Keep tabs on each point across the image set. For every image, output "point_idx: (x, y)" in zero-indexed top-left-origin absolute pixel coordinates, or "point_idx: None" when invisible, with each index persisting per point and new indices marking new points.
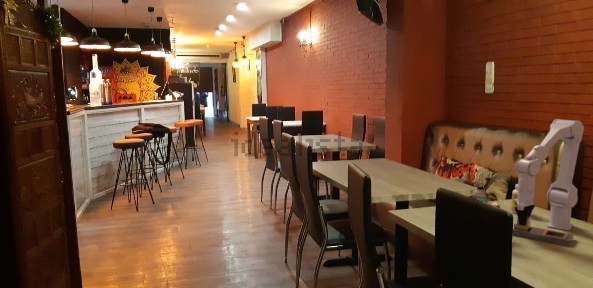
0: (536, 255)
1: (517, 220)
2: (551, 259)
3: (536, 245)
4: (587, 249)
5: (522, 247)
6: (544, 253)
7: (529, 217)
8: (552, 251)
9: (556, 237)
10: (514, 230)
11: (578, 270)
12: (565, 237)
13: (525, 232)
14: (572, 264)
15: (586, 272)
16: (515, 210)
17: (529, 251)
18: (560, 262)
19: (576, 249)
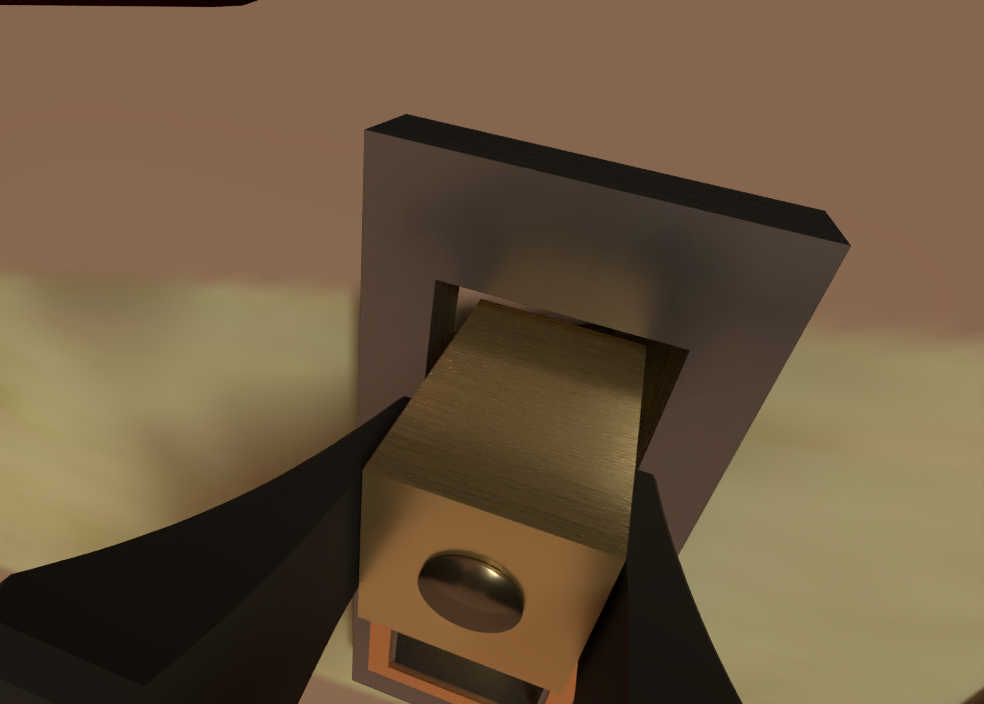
0: (4, 398)
1: (403, 415)
2: (26, 470)
3: (220, 436)
4: (382, 697)
5: (71, 317)
6: (91, 455)
7: (447, 649)
8: (177, 511)
9: (370, 633)
10: (364, 284)
11: (6, 548)
12: (415, 688)
13: (358, 414)
14: (58, 549)
15: (16, 570)
16: (42, 568)
17: (34, 362)
18: (28, 503)
19: (337, 648)
